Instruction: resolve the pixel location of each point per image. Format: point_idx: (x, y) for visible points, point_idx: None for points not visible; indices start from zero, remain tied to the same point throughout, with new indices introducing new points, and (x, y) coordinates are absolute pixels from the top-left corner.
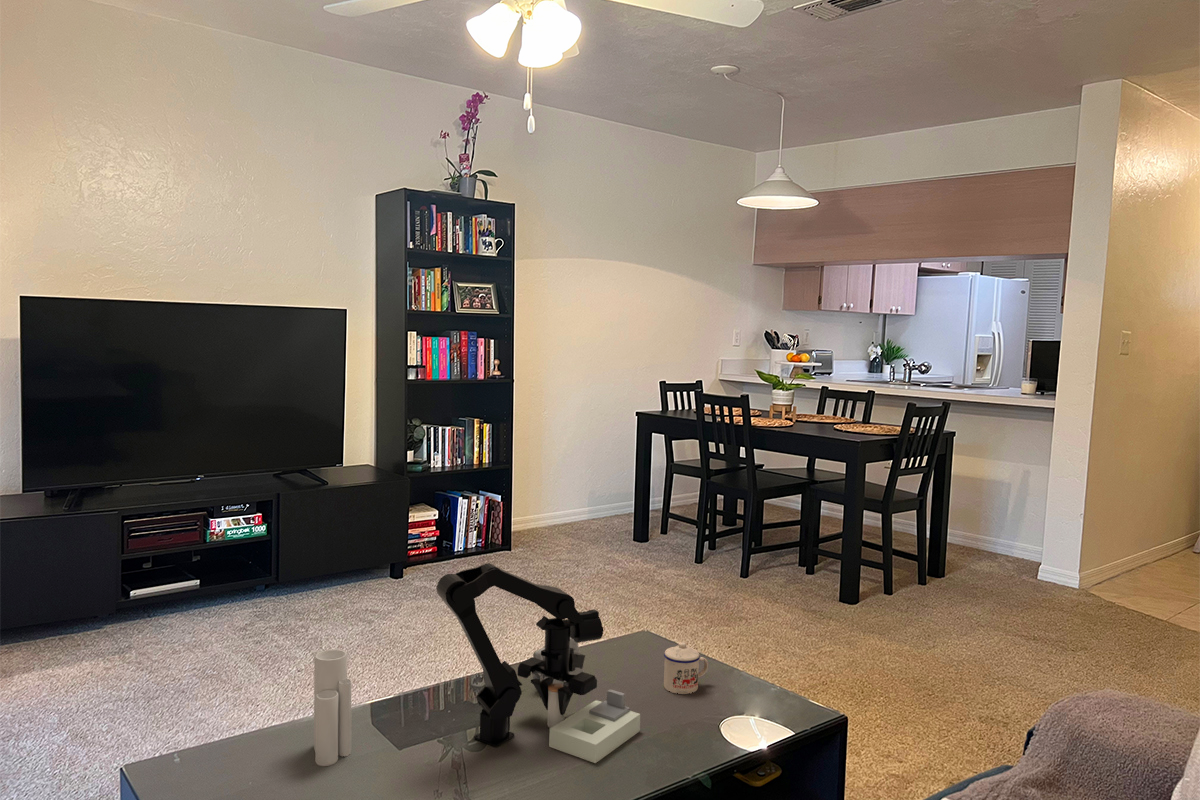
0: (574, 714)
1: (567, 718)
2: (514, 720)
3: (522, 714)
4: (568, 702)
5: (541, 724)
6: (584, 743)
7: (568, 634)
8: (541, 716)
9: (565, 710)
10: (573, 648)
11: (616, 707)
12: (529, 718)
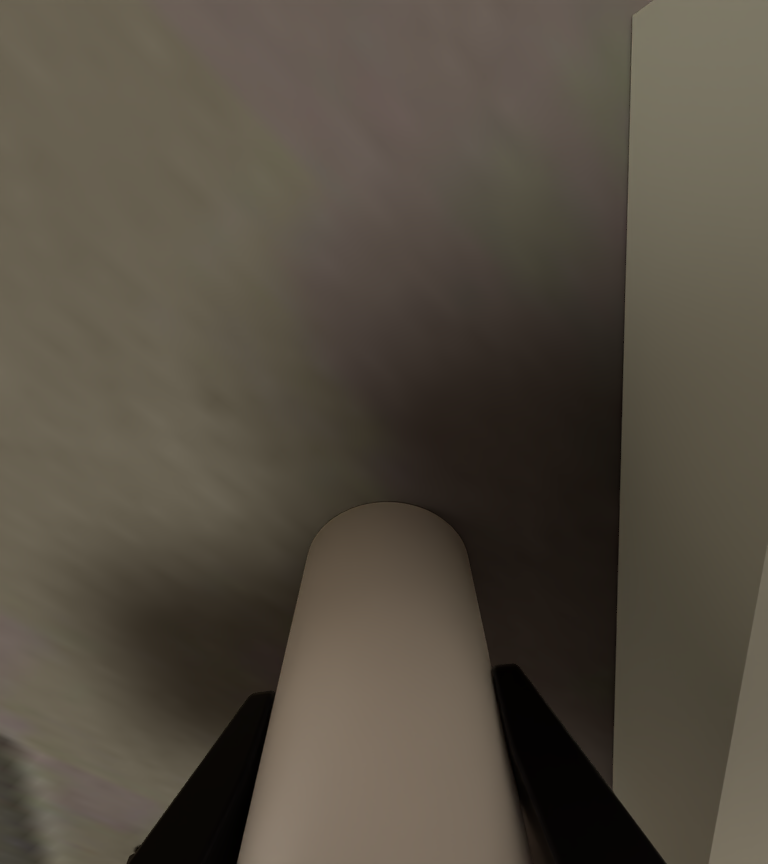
0: (756, 720)
1: (730, 823)
2: (87, 720)
3: (6, 627)
4: (647, 852)
5: (288, 636)
6: None
7: None
8: (140, 543)
9: (545, 708)
10: None
11: None
12: (118, 634)
